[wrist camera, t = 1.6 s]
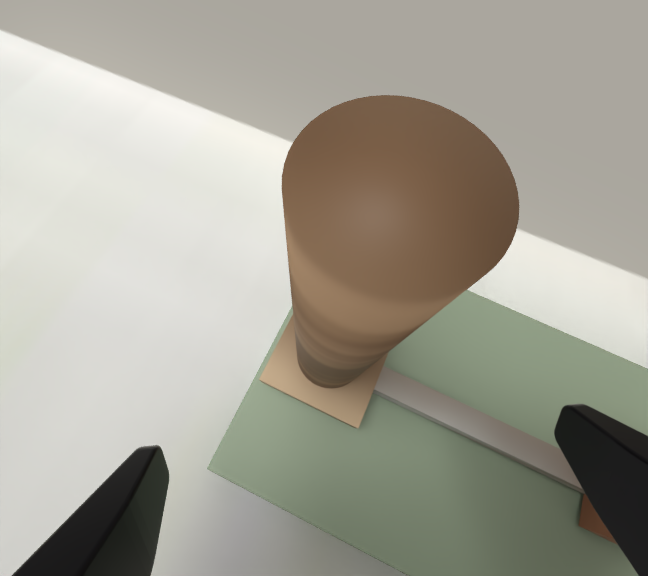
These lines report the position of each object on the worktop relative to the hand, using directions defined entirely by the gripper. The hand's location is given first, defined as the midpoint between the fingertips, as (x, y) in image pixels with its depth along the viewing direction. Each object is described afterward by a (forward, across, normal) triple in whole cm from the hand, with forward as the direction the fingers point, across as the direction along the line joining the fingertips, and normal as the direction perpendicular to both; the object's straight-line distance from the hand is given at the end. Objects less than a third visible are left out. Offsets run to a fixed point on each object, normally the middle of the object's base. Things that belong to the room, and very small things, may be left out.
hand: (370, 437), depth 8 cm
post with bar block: (+7, -6, +7) cm, 12 cm away
